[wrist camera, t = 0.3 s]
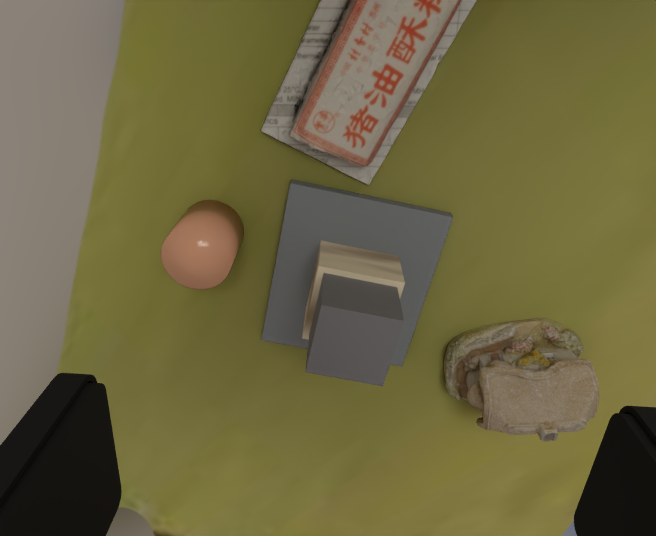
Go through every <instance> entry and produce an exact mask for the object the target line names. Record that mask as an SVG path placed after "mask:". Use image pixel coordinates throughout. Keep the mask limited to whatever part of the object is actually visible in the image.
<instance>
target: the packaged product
mask: <svg viewBox="0 0 656 536" xmlns="http://www.w3.org/2000/svg"><path fill="white" fill-rule="evenodd" d="M475 2H476V0H321V1H320V3H319V5H318V7H317V9H316V11H315V13H314V16H313V18H312V20H311V22H310V24H309V26H308V28H307V30H306V32H305V34H304V36H303V38H302V41H301V43H300V45H299V48H298V50H297V53H296V55H295V57H294V59H293V61H292V63H291V65H290V68H289V70H288V72H287V74H286V76H285V78H284V80H283V82H282V84H281V87H280V89H279V91H278V93H277V95H276V97H275V99H274V101H273V103H272V106H271V108H270V110H269V113H268V115H267V117H266V120H265V122H264V125H263V127H262V130H261V131H262V132H264V133H266V134H268V135H270V136H272V137H274V138H276V139H277V140H279V141H282V142H284V143H286V144H288V145H290V146H291V147H293V148H295V149H297V150H299V151H301V152H303V153H305V154H307V155H309V156H311V157H313V158H315V159H317V160H319V161H321V162H324V163H326V164H328V165H330V166H332V167H333V168H335V169H337V170H339V171H341V172H343V173H345V174H347V175H349V176H351V177H353V178H355V179H357V180H360V181H361V182H363V183H365V184H367V185H369V184H370V182H371V180H372V179H373V177H374V175H375V174H376V172H377V170H378V169H379V167H380V166H381V164H382V162H383V161H384V159H385V157H386V156H387V154H388V152H389V150H390V148H391V146H392V145H393V143H394V141H395V140H396V138H397V136H398V135H399V133H400V131H401V130H402V128H403V126H404V124H405V123H406V121H407V119H408V118H409V116H410V114H411V112H412V111H413V109H414V107H415V105H416V104H417V102H418V100H419V98H420V97H421V95H422V93H423V92H424V90H425V89H426V87H427V85H428V83H429V82H430V80H431V78H432V76H433V74H434V72H435V70H436V67H437V65H438V63H439V62H440V61H441V60H442V59H443V57H444V55H445V53H446V52H447V50H448V48H449V47H450V45H451V44H452V42H453V40H454V38H455V37H456V35H457V33H458V31H459V29H460V27H461V25H462V24H463V22H464V20H465V19H466V17H467V16H468V14H469V12H470V11H471V9H472V7H473V5H474V4H475Z"/></svg>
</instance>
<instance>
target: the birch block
mask: <svg viewBox="0 0 656 536" xmlns="http://www.w3.org/2000/svg"><path fill="white" fill-rule="evenodd" d="M323 273H328V274H333V275H338V276H343V277H348V278H353V279H358V280H363V281H368V282H373V283H378V284H383V285H388V286H393V287H397V288H398V293H399V298H400V297H401V294H402V291H403V288H404V285H405V281H404V276H403V272H402V268H401V263H400V259H399V256H396V255H391V254H386V253H381V252H376V251H371V250H366V249H361V248H356V247H351V246H346V245H341V244H336V243H332V242H327V241H322V240H321V242H320V247H319V251H318V255H317V260H316V264H315V269H314V273H313V278H312V282H311V287H310V291H309V296H308V300H307V305H306V310H305V319H304V327H303V336H302V339H308V340H309V333H310V329H311V325H312V320H313V316H314V312H315V307H316V303H317V299H318V295H319V290H320V286H321V282H322V277H323Z"/></svg>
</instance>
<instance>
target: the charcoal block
mask: <svg viewBox="0 0 656 536" xmlns="http://www.w3.org/2000/svg"><path fill="white" fill-rule="evenodd" d="M403 323H404V318H403V313H402V308H401V303H400V298H399V293H398V288H397V287H393V286H388V285H383V284H378V283H373V282H368V281H363V280H358V279H353V278H348V277H343V276H338V275H333V274H328V273H323V277H322V282H321V286H320V290H319V295H318V299H317V303H316V307H315V312H314V316H313V320H312V325H311V329H310V333H309V341H308V351H307V362H306V372H308V373H314V374H319V375H324V376H330V377H335V378H341V379H346V380H352V381H357V382H363V383H368V384H374V385H379V386H383V384H384V381H385V378H386V375H387V372H388V368H389V365H390V362H391V359H392V356H393V353H394V350H395V347H396V344H397V341H398V338H399V335H400V332H401V329H402V326H403Z"/></svg>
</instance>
